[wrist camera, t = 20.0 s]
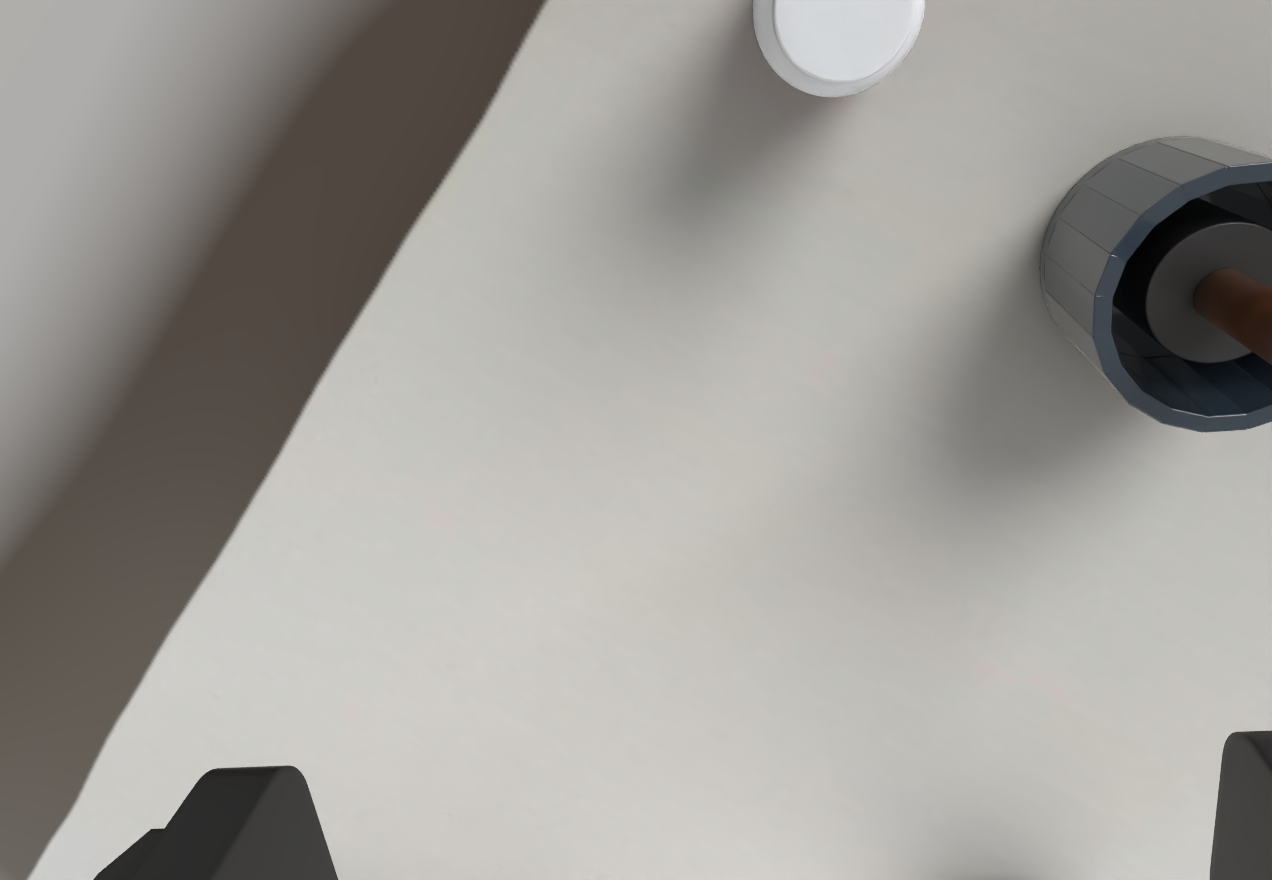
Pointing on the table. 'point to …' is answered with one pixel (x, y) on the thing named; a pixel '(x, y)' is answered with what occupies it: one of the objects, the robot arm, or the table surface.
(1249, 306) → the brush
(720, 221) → the table surface
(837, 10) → the pill bottle
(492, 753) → the table surface
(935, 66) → the table surface
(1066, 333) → the gray open cylinder
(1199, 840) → the table surface
